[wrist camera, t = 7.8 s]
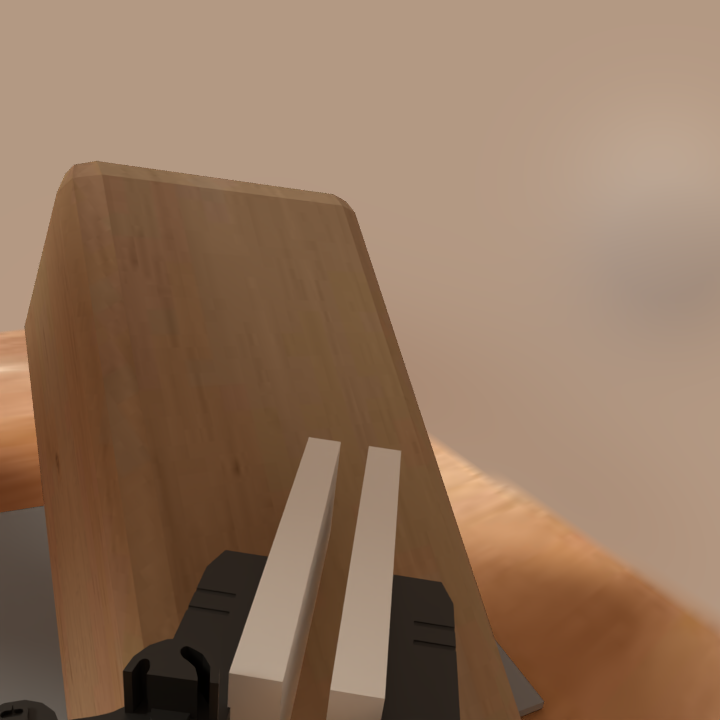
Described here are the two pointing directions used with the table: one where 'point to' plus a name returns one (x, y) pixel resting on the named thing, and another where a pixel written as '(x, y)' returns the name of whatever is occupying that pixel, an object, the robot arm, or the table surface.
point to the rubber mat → (39, 624)
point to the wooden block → (219, 416)
